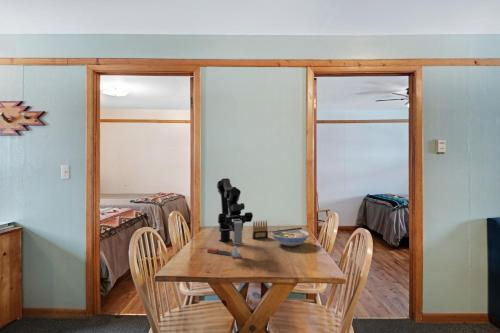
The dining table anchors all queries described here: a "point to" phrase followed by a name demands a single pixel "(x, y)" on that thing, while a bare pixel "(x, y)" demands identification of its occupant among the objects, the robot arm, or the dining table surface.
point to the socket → (237, 231)
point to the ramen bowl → (290, 236)
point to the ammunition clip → (260, 230)
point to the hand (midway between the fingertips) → (237, 231)
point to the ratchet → (225, 252)
